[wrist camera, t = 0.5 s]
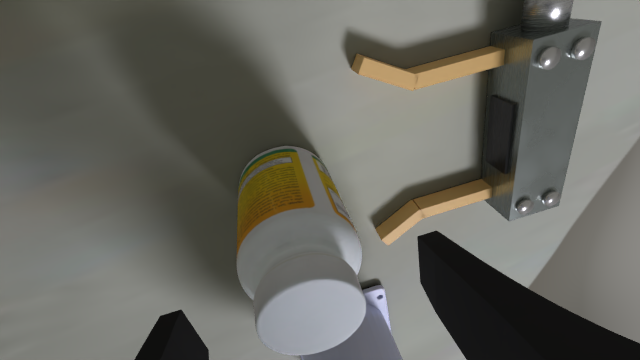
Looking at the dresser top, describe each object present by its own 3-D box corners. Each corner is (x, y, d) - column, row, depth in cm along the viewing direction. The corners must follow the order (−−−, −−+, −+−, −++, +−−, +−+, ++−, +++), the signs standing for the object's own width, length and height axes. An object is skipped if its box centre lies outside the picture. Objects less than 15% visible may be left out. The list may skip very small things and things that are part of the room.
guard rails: (479, 204, 24) (489, 213, 23) (376, 236, 23) (382, 247, 22) (492, 17, 17) (507, 19, 16) (349, 55, 17) (356, 59, 16)
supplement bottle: (342, 159, 20) (414, 279, 12) (306, 228, 22) (346, 371, 14) (256, 129, 18) (270, 249, 10) (225, 208, 20) (214, 363, 12)
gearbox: (524, 182, 24) (562, 208, 21) (477, 196, 24) (509, 225, 21) (558, -36, 17) (622, -40, 14) (490, -18, 16) (542, -20, 14)
